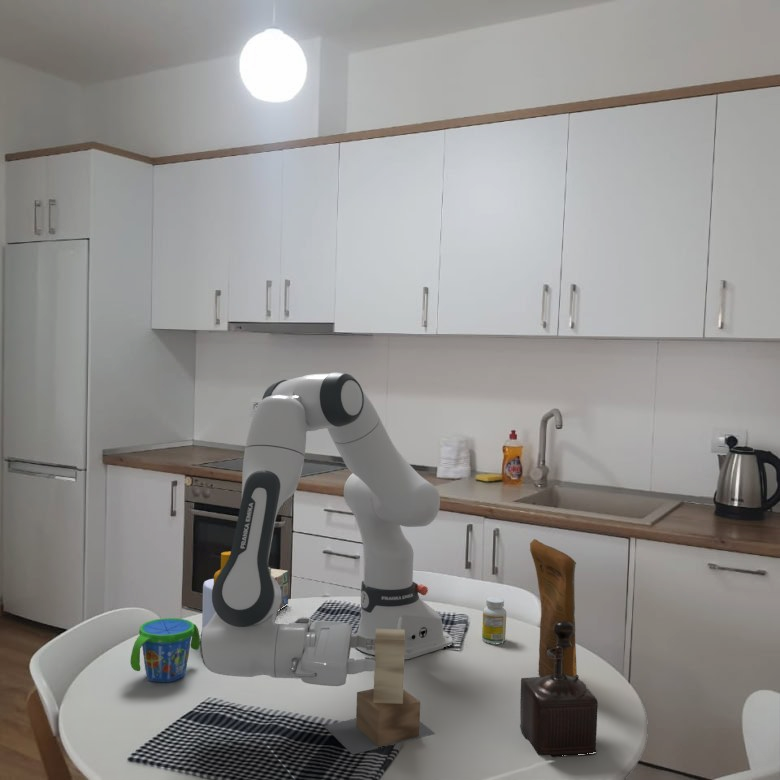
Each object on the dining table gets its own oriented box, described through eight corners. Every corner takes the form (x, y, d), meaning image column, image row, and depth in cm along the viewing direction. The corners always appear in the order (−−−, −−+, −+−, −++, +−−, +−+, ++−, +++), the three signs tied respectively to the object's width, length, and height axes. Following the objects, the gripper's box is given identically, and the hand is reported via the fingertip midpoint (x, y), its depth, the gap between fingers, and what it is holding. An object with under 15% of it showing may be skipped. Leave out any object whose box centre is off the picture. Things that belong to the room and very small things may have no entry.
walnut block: (395, 716, 142) (396, 683, 142) (419, 736, 135) (420, 701, 135) (356, 725, 138) (357, 692, 138) (378, 746, 132) (379, 710, 131)
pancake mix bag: (553, 704, 150) (559, 558, 149) (522, 664, 169) (528, 535, 168) (587, 703, 151) (593, 558, 150) (553, 664, 170) (558, 535, 169)
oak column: (374, 690, 139) (375, 628, 139) (402, 691, 139) (404, 629, 139) (373, 702, 134) (375, 638, 134) (402, 703, 134) (404, 639, 134)
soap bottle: (258, 646, 175) (261, 555, 174) (228, 656, 169) (230, 562, 168) (222, 631, 184) (224, 544, 183) (192, 640, 177) (193, 550, 177)
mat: (402, 709, 146) (402, 707, 146) (435, 735, 137) (435, 733, 137) (323, 727, 138) (323, 725, 138) (352, 756, 129) (352, 754, 129)
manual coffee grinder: (601, 755, 132) (606, 648, 131) (537, 758, 130) (541, 650, 129) (567, 712, 147) (571, 617, 146) (509, 715, 145) (513, 618, 145)
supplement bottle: (497, 646, 179) (498, 604, 179) (477, 640, 183) (478, 599, 182) (509, 640, 183) (511, 599, 183) (490, 634, 187) (491, 594, 186)
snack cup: (184, 658, 167) (184, 610, 167) (214, 672, 160) (215, 623, 160) (116, 680, 155) (116, 628, 155) (145, 696, 149) (146, 643, 148)
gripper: (288, 656, 126) (375, 658, 126) (302, 614, 146) (377, 616, 146) (287, 695, 126) (374, 697, 126) (301, 647, 146) (376, 650, 146)
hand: (376, 653), depth 136 cm, fingers open, 8 cm apart
